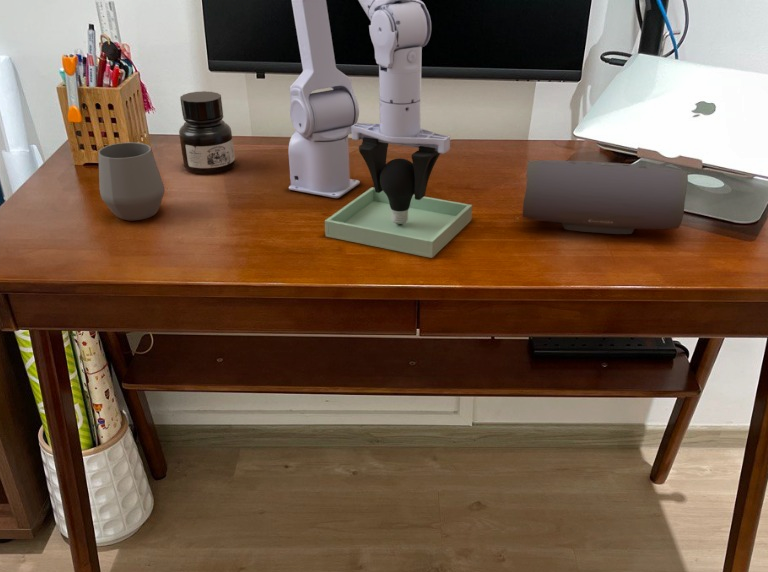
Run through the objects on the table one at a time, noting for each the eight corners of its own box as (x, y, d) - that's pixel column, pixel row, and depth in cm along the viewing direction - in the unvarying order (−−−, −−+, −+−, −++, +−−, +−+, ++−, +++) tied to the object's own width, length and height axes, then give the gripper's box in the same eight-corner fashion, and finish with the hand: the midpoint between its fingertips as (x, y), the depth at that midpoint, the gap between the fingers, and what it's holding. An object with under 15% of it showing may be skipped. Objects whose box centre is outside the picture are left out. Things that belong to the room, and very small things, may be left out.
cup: (129, 199, 133) (117, 137, 127) (179, 207, 131) (169, 144, 125) (92, 221, 126) (77, 156, 120) (144, 230, 123) (132, 163, 118)
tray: (325, 236, 122) (324, 220, 121) (372, 202, 133) (371, 187, 132) (432, 258, 116) (432, 241, 115) (471, 220, 128) (472, 204, 126)
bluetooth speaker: (672, 222, 128) (684, 158, 122) (677, 247, 120) (691, 179, 114) (524, 211, 131) (530, 148, 125) (520, 234, 123) (526, 168, 117)
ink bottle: (190, 178, 141) (179, 106, 134) (175, 163, 148) (164, 93, 141) (244, 169, 145) (237, 99, 138) (228, 155, 152) (220, 87, 145)
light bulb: (380, 217, 127) (380, 152, 121) (418, 217, 127) (420, 152, 121) (379, 232, 122) (379, 166, 116) (419, 233, 122) (420, 166, 116)
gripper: (459, 98, 114) (455, 192, 122) (366, 85, 119) (368, 177, 127) (439, 110, 109) (437, 209, 117) (343, 97, 114) (346, 192, 122)
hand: (400, 194), depth 122 cm, fingers closed on light bulb, 6 cm apart
